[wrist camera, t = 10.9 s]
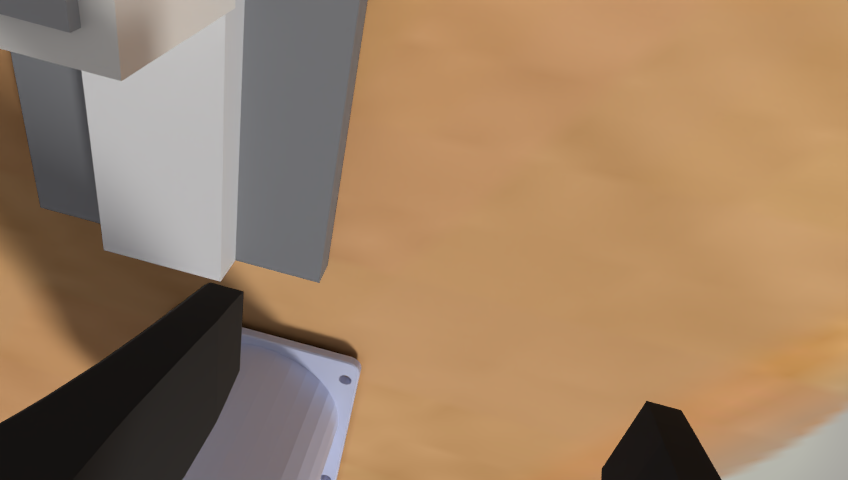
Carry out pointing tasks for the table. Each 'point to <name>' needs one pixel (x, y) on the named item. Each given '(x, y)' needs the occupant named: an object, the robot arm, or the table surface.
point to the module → (103, 30)
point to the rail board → (207, 140)
